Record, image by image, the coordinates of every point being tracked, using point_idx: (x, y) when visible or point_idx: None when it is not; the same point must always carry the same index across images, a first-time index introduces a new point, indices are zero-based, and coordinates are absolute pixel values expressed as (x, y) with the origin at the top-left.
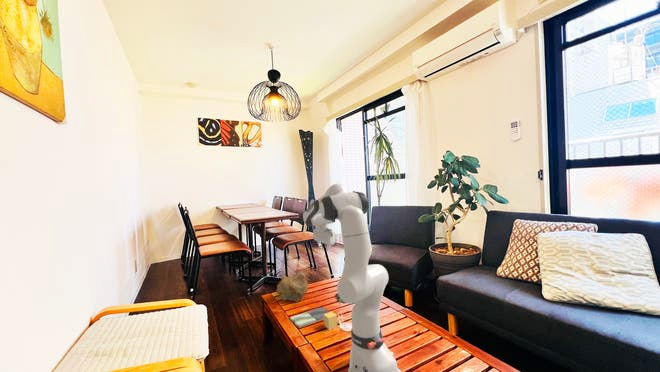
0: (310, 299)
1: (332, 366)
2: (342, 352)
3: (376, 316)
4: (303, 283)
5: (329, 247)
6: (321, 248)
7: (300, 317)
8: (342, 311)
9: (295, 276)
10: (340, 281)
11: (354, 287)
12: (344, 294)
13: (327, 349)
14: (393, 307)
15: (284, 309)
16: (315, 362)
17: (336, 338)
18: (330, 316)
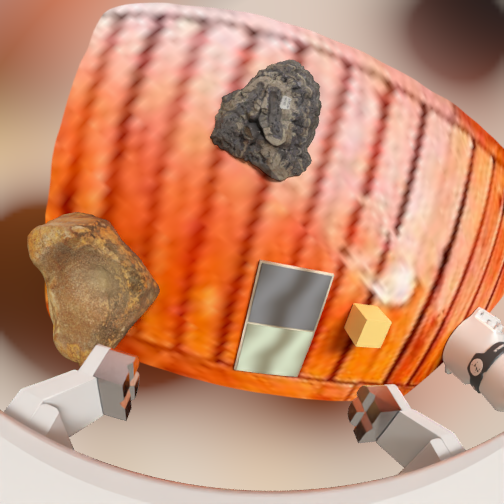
0: (163, 241)
1: (422, 380)
2: (425, 353)
3: None
4: (97, 256)
5: (420, 432)
6: (138, 361)
7: (261, 354)
8: (338, 230)
9: (49, 275)
10: None
11: None
12: None
13: (399, 368)
14: (436, 107)
15: (168, 346)
16: None
17: (398, 337)
18: (380, 339)
